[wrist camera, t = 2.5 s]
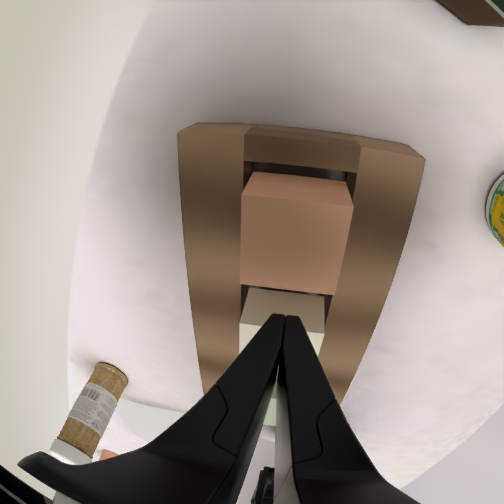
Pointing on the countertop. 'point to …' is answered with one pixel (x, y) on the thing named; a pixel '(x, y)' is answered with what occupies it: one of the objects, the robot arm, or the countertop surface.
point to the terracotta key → (294, 232)
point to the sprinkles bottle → (89, 416)
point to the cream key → (285, 303)
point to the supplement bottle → (496, 210)
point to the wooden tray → (229, 233)
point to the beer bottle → (477, 11)
